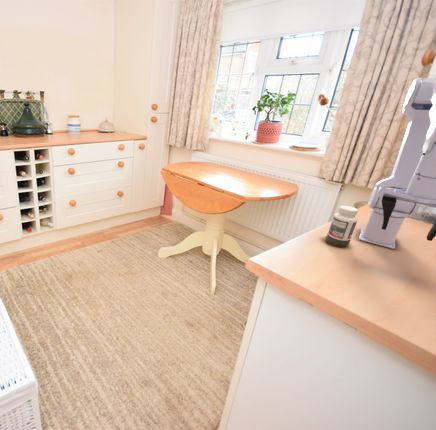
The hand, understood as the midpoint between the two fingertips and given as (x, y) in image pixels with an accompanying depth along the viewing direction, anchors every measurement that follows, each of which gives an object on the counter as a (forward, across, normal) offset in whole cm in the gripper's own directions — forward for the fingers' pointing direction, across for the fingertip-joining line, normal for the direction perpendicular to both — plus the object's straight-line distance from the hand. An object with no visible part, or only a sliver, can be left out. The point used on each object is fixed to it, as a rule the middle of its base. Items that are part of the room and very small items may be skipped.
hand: (405, 233), depth 66 cm
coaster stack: (+10, -12, +9) cm, 18 cm away
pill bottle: (+9, -12, +9) cm, 17 cm away
